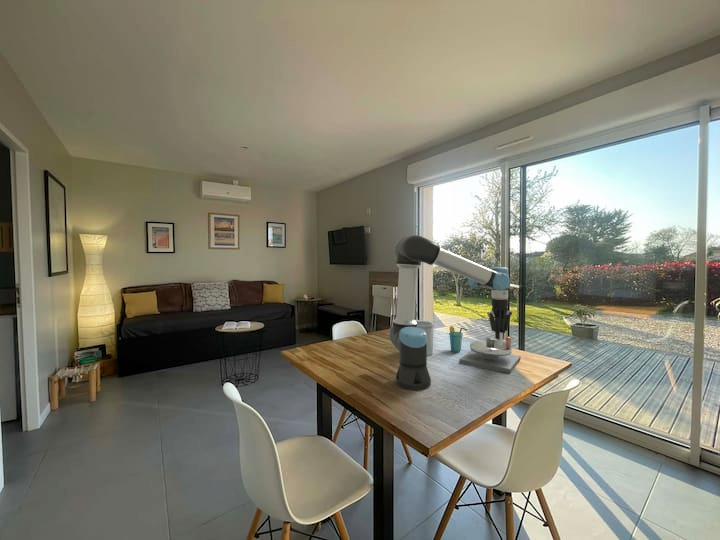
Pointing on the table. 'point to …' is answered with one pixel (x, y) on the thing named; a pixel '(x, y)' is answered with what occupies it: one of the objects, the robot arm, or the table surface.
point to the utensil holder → (427, 333)
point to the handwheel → (492, 347)
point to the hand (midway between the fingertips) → (499, 345)
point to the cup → (455, 339)
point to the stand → (491, 361)
